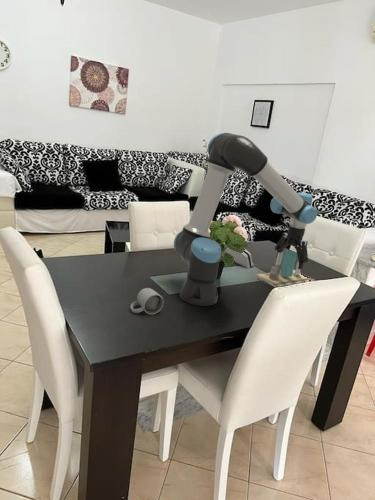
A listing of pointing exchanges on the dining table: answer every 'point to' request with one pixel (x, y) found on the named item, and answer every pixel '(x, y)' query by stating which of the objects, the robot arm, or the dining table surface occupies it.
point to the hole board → (281, 278)
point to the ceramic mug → (148, 301)
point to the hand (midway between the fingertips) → (287, 269)
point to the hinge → (241, 257)
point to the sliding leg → (288, 263)
